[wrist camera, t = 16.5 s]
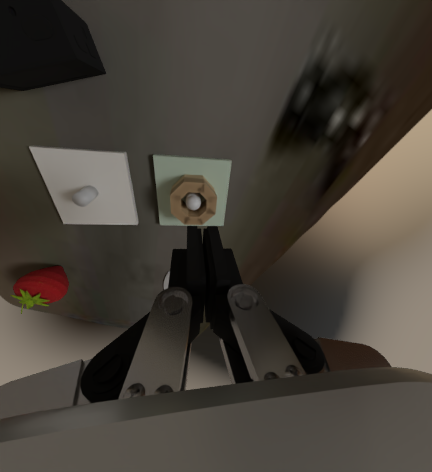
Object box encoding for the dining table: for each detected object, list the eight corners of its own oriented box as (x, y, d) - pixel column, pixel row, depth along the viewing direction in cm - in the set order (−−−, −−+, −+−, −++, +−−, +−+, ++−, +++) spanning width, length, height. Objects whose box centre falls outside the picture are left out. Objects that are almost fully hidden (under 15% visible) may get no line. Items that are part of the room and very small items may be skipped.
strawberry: (80, 280, 39) (51, 323, 31) (38, 273, 37) (-5, 318, 28) (81, 261, 36) (50, 303, 28) (36, 252, 34) (-13, 295, 26)
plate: (154, 154, 27) (147, 161, 23) (230, 159, 29) (237, 167, 24) (160, 222, 34) (156, 237, 29) (222, 223, 35) (227, 238, 31)
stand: (34, 145, 24) (6, 150, 21) (126, 152, 26) (115, 158, 23) (66, 221, 31) (50, 235, 27) (138, 222, 33) (132, 235, 29)
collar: (163, 194, 30) (160, 204, 26) (193, 165, 28) (194, 172, 24) (192, 220, 33) (193, 232, 30) (221, 196, 31) (225, 206, 28)
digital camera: (80, 4, 18) (30, -47, 13) (107, 73, 21) (77, 58, 16) (-18, 24, 18) (-113, -18, 13) (23, 90, 21) (-37, 81, 16)
